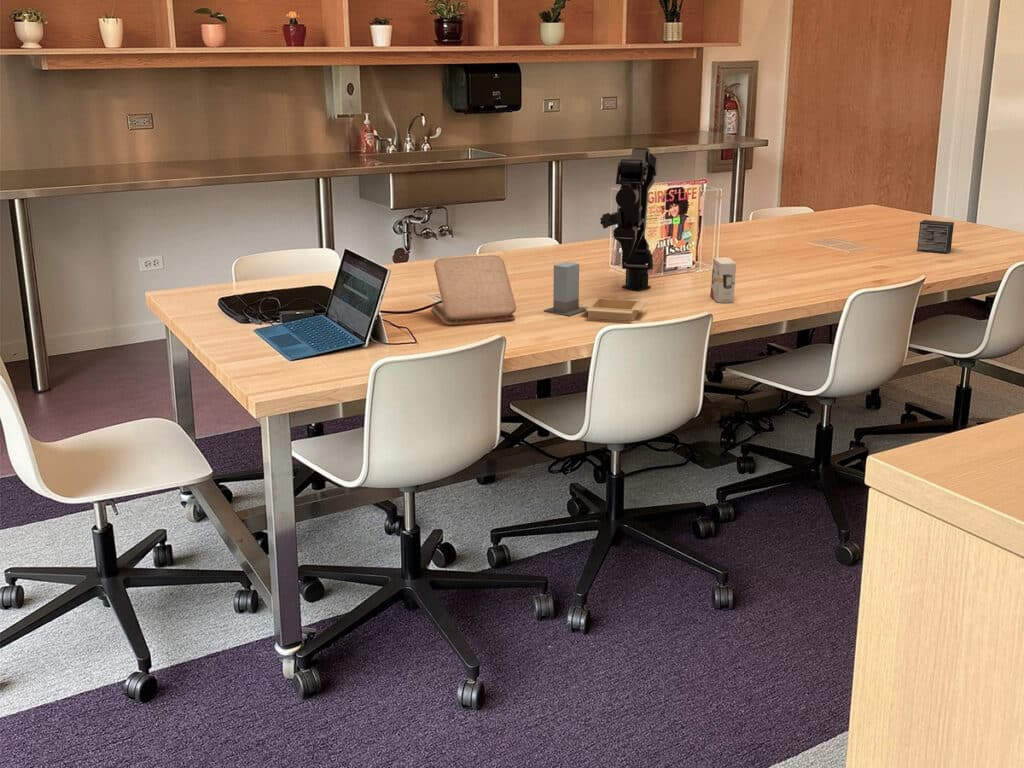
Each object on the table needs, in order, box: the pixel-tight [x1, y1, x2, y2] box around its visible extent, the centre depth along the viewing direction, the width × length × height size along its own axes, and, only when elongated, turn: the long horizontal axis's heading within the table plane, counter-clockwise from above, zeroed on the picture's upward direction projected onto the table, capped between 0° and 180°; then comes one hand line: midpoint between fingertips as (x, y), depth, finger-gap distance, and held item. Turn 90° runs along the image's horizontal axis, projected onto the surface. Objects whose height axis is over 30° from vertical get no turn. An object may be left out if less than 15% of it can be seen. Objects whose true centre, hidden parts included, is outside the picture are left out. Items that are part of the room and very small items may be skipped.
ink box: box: [709, 256, 737, 304], centre depth 327 cm, size 9×5×12 cm, turn 6°
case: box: [431, 254, 517, 326], centre depth 311 cm, size 20×21×16 cm
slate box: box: [552, 261, 580, 313], centre depth 315 cm, size 6×4×13 cm
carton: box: [581, 297, 648, 322], centre depth 313 cm, size 18×17×3 cm
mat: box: [543, 306, 587, 317], centre depth 317 cm, size 9×9×1 cm
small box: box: [916, 219, 955, 255], centre depth 394 cm, size 11×6×10 cm, turn 58°
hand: (629, 257), depth 324 cm, fingers open, 9 cm apart
